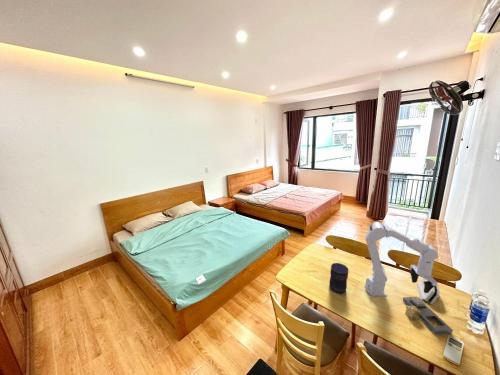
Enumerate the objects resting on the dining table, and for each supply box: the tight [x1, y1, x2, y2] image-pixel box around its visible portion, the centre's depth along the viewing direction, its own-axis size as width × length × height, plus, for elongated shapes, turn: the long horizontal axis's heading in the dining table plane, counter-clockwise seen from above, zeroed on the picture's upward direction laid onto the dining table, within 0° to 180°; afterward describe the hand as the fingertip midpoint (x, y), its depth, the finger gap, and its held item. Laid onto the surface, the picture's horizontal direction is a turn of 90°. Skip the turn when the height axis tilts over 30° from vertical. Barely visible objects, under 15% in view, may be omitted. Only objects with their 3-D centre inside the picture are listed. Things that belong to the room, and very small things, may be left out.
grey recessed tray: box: [402, 296, 454, 336], centre depth 103 cm, size 8×20×2 cm, turn 2°
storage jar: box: [328, 262, 349, 295], centre depth 122 cm, size 10×10×15 cm
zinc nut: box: [411, 296, 426, 309], centre depth 108 cm, size 4×4×6 cm
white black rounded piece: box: [415, 278, 441, 305], centre depth 117 cm, size 17×5×10 cm, turn 148°
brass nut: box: [405, 305, 421, 321], centre depth 103 cm, size 4×4×6 cm
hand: (419, 287), depth 110 cm, fingers open, 7 cm apart
